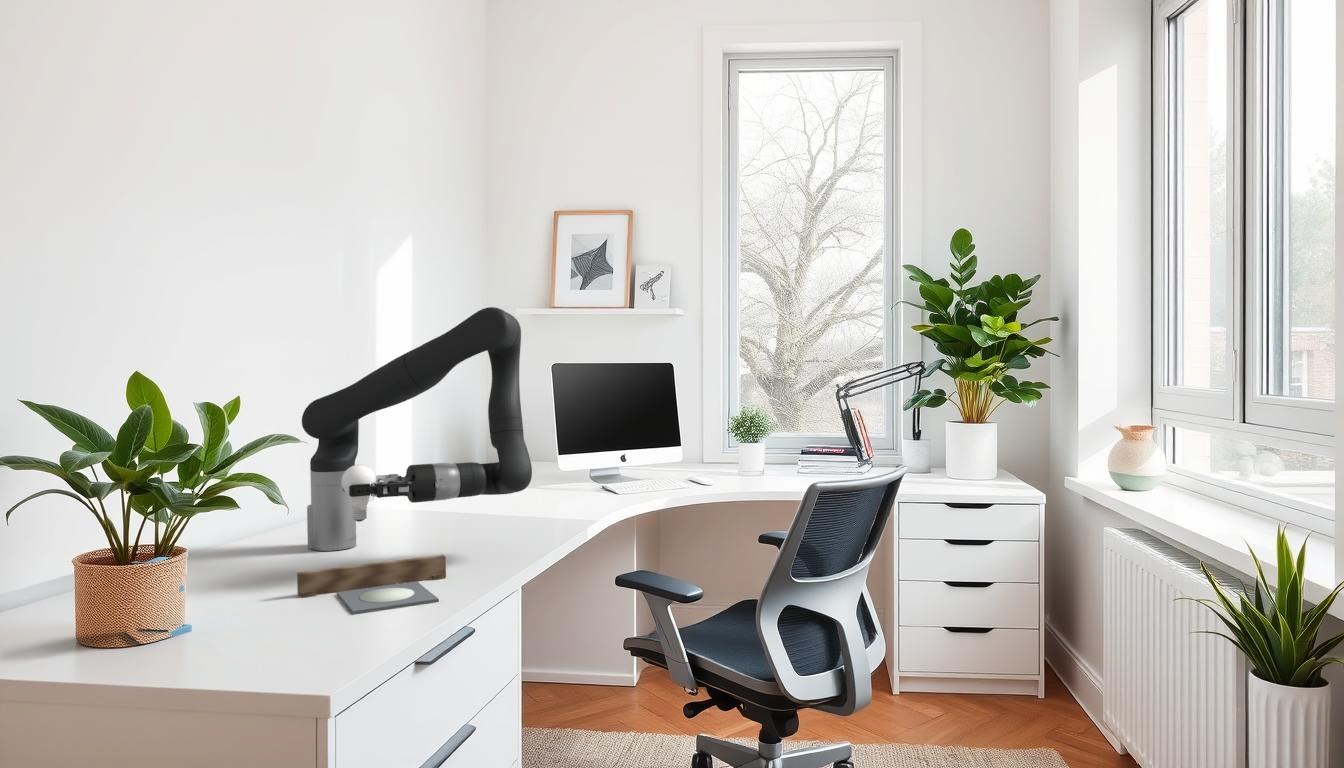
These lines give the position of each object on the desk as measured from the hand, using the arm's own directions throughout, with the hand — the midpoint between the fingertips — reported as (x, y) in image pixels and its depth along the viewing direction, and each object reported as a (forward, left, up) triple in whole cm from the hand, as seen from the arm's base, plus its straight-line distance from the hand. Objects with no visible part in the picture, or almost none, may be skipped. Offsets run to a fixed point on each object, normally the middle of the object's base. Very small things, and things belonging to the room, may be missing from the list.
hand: (346, 488), depth 170 cm
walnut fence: (+9, -7, -17) cm, 20 cm away
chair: (-11, -38, -17) cm, 43 cm away
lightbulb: (+2, +2, -7) cm, 7 cm away
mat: (+16, -15, -17) cm, 27 cm away
